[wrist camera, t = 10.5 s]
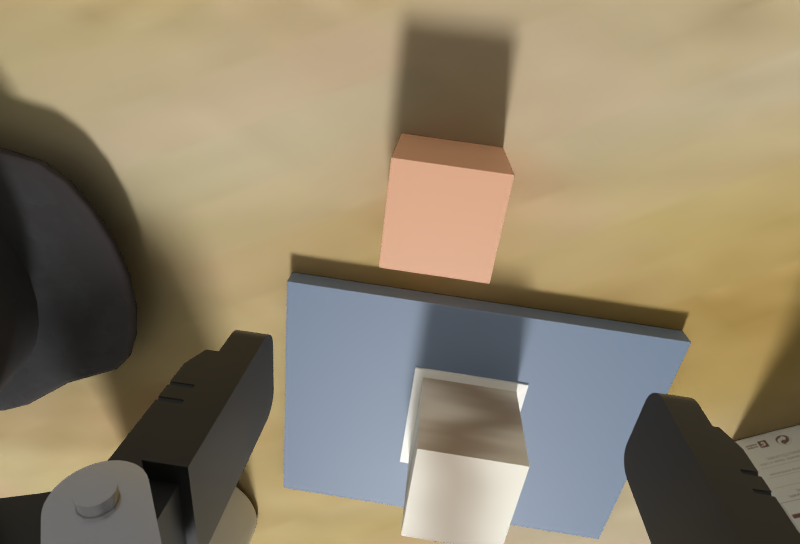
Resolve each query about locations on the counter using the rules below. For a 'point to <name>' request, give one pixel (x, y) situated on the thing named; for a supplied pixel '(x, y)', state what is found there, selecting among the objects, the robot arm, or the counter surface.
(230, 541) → the travel mug
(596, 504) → the blue board
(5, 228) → the casserole
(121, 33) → the counter surface
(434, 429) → the cream block
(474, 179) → the terracotta cube
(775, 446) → the supplement box
